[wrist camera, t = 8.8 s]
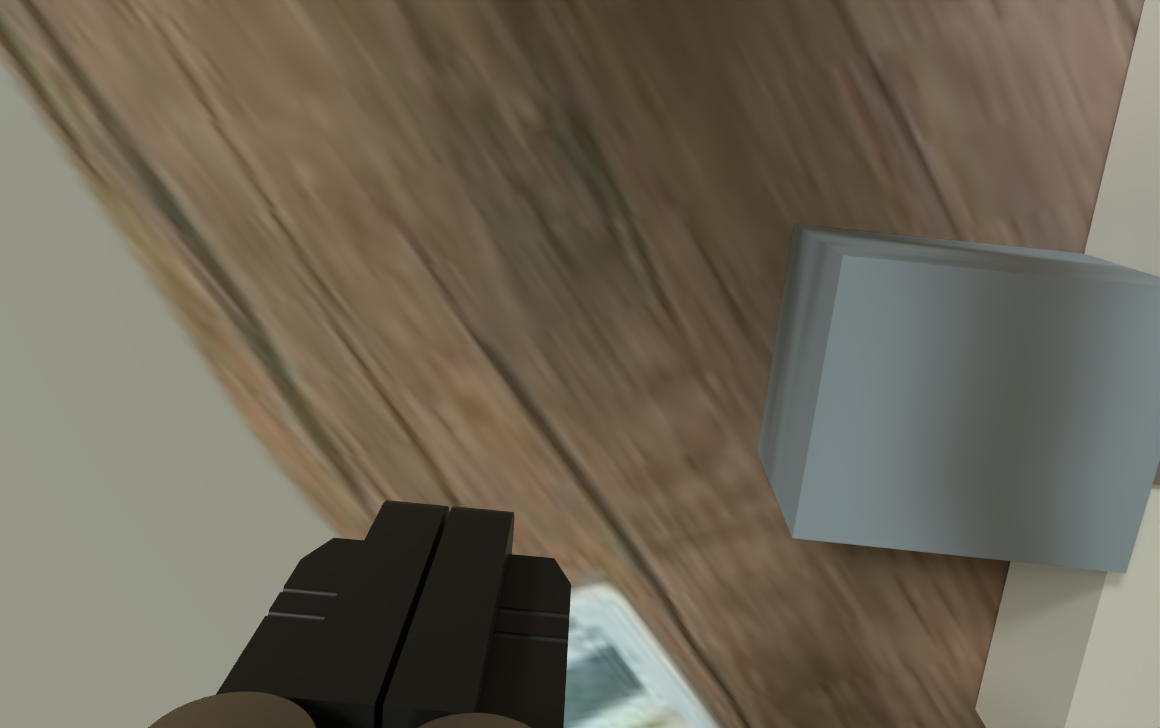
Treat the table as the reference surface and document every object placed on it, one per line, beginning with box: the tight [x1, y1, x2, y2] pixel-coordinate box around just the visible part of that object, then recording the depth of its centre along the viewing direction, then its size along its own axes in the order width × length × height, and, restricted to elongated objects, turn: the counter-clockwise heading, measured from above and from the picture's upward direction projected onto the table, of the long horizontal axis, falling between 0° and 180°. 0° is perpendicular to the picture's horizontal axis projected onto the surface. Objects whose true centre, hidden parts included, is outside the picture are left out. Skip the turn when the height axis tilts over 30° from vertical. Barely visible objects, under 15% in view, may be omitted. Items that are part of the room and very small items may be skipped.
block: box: [757, 224, 1160, 573], centre depth 20 cm, size 7×6×5 cm
